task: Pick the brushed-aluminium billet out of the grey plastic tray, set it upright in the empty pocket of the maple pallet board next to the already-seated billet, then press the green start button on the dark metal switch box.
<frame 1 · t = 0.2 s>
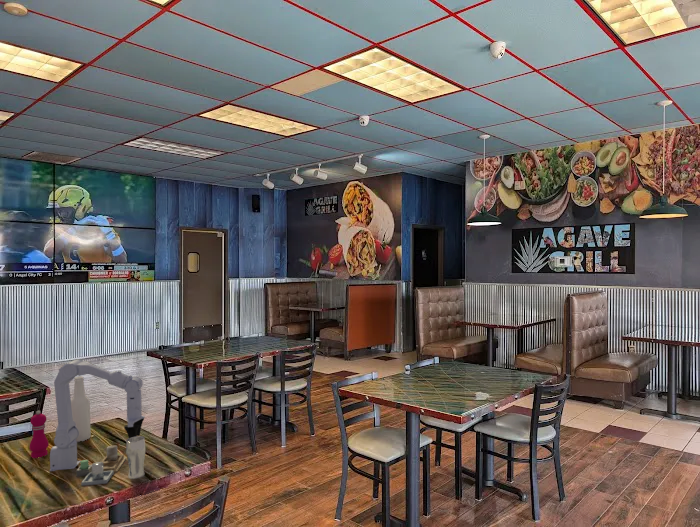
hand: (134, 438, 213), 10 cm above the table, tool pointing down, fingers open, 7 cm apart
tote: (98, 480, 195), on the table
alcohol: (80, 439, 242), on the table
beer glass: (136, 477, 198), on the table
pallet: (110, 467, 208), on the table
billet: (97, 479, 195), point 1 cm above the table, touching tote
switch box: (84, 474, 201), on the table
pepper mill: (39, 456, 222), on the table
start button: (84, 466, 201), point 3 cm above the table, slide at 0.0 cm
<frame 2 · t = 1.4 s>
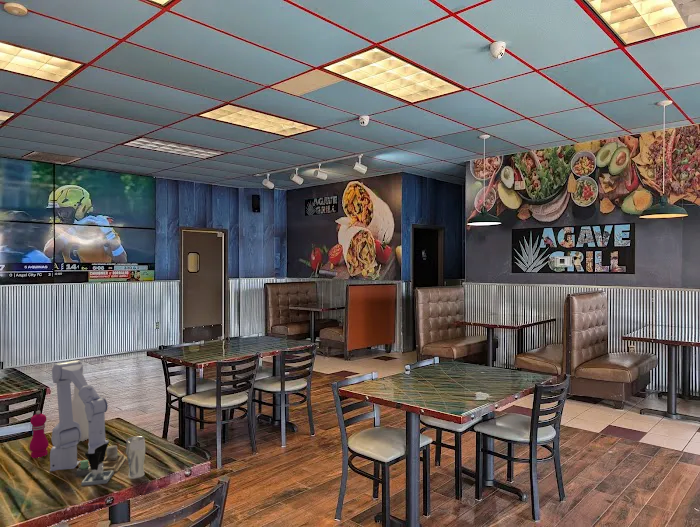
hand: (97, 465, 195), 6 cm above the table, tool pointing down, fingers open, 7 cm apart
nothing on the table moved.
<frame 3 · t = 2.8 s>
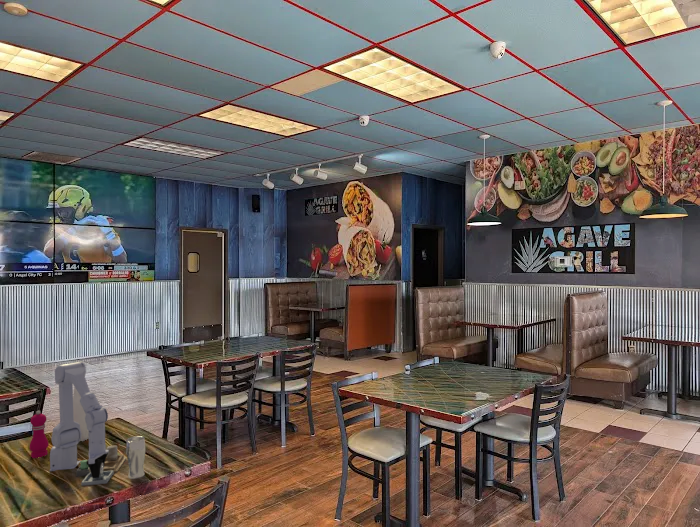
hand: (97, 475, 195), 2 cm above the table, tool pointing down, fingers closed on billet, 4 cm apart
billet: (97, 479, 195), point 1 cm above the table, touching gripper, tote
everything else where it was.
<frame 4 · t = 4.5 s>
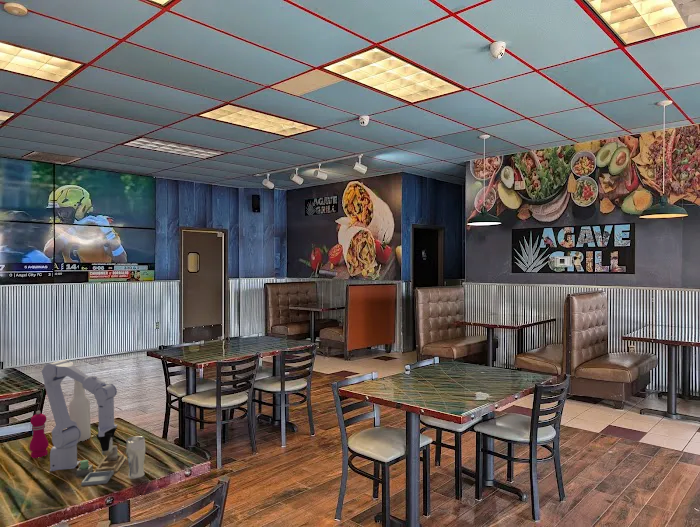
hand: (107, 448, 204), 9 cm above the table, tool pointing down, fingers closed on billet, 4 cm apart
billet: (107, 453, 204), point 7 cm above the table, touching gripper
everything else where it was.
when the fingers open (4 cm above the table, at t = 6.3 s): billet stays where it is, resting on pallet.
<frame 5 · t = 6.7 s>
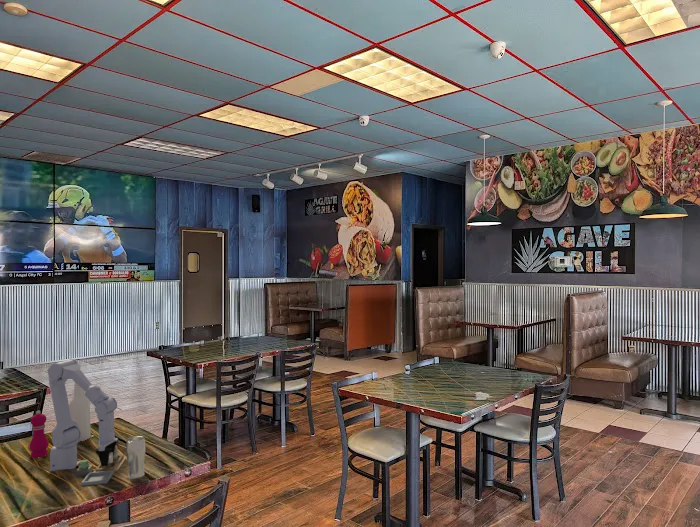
hand: (107, 462, 204), 4 cm above the table, tool pointing down, fingers open, 7 cm apart
billet: (107, 468, 204), point 1 cm above the table, touching pallet
everything else where it was.
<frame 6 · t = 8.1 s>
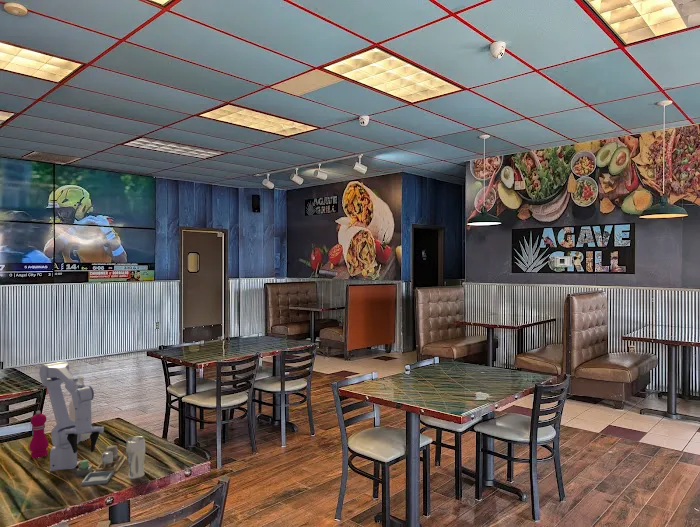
hand: (84, 451, 201), 9 cm above the table, tool pointing down, fingers open, 6 cm apart
nothing on the table moved.
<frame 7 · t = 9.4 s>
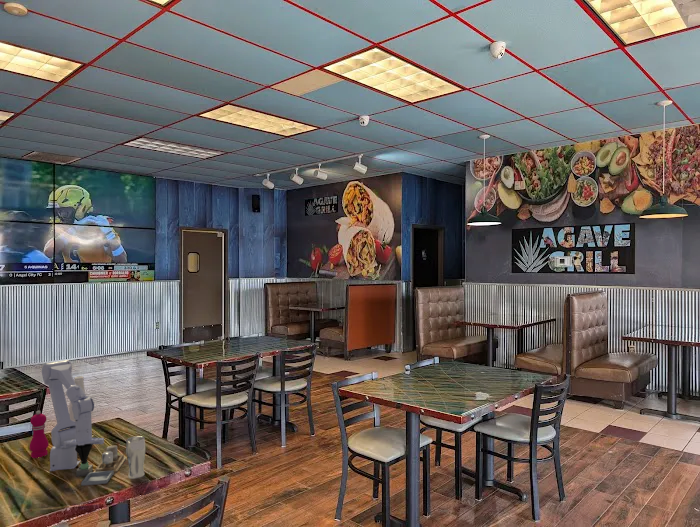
hand: (84, 463, 201), 5 cm above the table, tool pointing down, fingers closed, pressing on start button
start button: (84, 468, 201), point 3 cm above the table, slide at 0.7 cm, touching gripper
everything else where it was.
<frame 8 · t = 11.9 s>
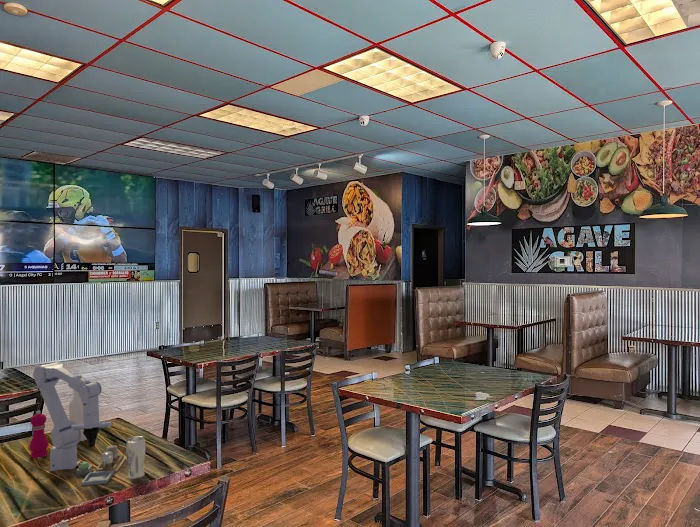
hand: (92, 446, 203), 10 cm above the table, tool pointing down, fingers closed
start button: (84, 468, 201), point 3 cm above the table, slide at 0.8 cm
everything else where it was.
at the end: billet 0.0 cm from the target spot on the pallet, point 1.2 cm above the pallet's base; billet tilted 1°; start button slide at 0.8 cm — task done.
